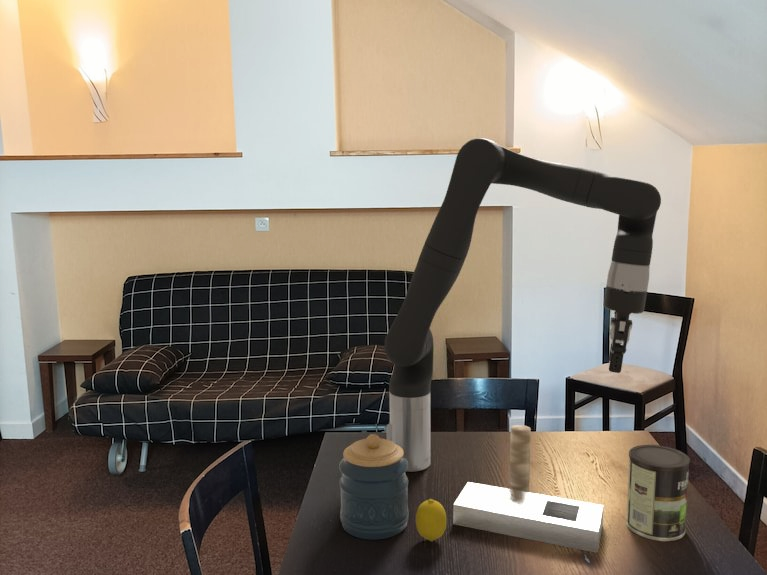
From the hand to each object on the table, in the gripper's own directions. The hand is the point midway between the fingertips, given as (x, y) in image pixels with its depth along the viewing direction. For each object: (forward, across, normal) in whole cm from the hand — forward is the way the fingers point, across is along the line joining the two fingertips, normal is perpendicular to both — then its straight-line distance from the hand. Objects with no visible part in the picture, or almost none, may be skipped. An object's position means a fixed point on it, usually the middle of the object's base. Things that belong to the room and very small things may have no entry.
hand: (614, 366), depth 129 cm
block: (+29, +16, -12) cm, 35 cm away
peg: (+29, +3, -15) cm, 33 cm away
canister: (+32, +24, -39) cm, 56 cm away
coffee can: (+27, +9, +11) cm, 30 cm away
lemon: (+31, +26, -27) cm, 49 cm away
